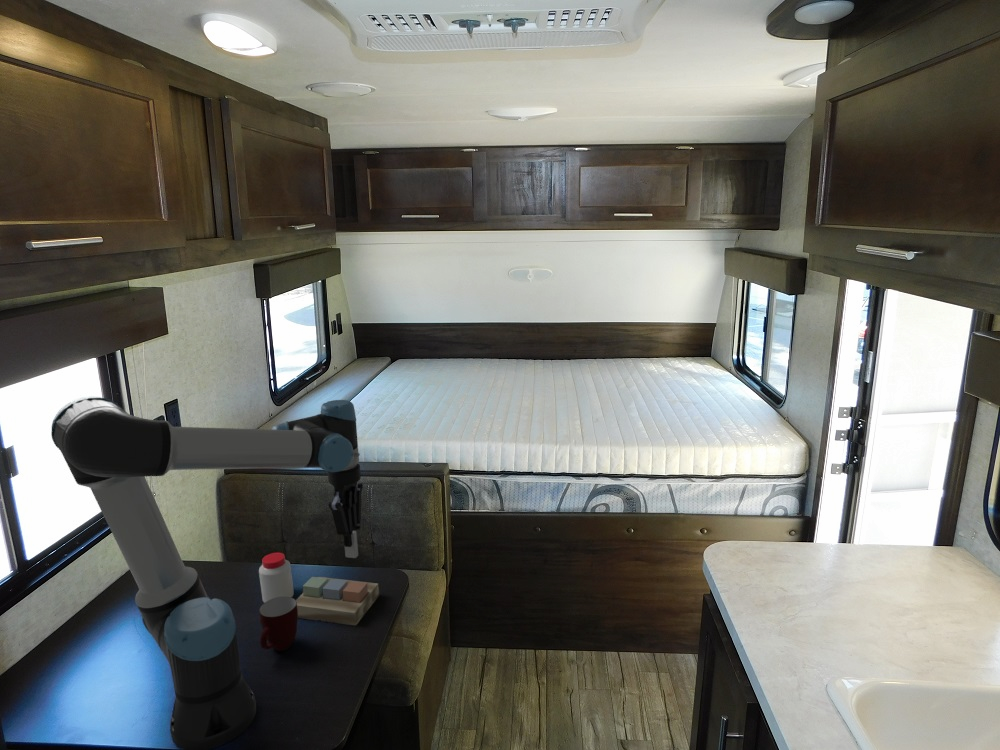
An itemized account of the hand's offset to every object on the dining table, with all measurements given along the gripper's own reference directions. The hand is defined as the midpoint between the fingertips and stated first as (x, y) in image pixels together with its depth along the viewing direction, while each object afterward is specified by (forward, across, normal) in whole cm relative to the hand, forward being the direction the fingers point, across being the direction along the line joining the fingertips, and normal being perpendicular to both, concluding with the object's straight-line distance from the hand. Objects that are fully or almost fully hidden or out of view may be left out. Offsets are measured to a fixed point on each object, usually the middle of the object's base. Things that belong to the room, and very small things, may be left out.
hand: (352, 556), depth 155 cm
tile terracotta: (+11, 0, 0) cm, 11 cm away
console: (+14, 0, +6) cm, 15 cm away
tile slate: (+11, 0, +6) cm, 13 cm away
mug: (+15, -18, +10) cm, 25 cm away
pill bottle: (+15, +1, +23) cm, 27 cm away
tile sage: (+11, 0, +11) cm, 16 cm away
